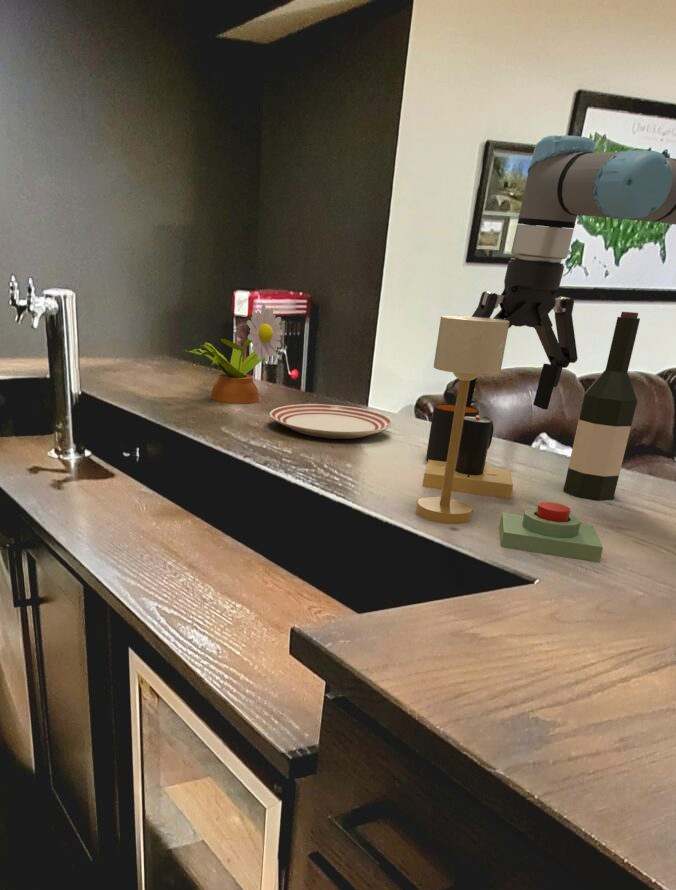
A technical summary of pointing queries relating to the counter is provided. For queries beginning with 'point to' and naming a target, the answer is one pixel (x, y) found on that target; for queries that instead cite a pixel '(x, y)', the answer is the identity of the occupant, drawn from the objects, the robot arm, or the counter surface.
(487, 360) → the lamp
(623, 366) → the wine bottle
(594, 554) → the switch block
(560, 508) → the lamp button
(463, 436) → the black cylinder
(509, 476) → the tan flat block
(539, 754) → the counter surface
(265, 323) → the decorative plant
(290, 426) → the dinner plate
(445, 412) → the mug
